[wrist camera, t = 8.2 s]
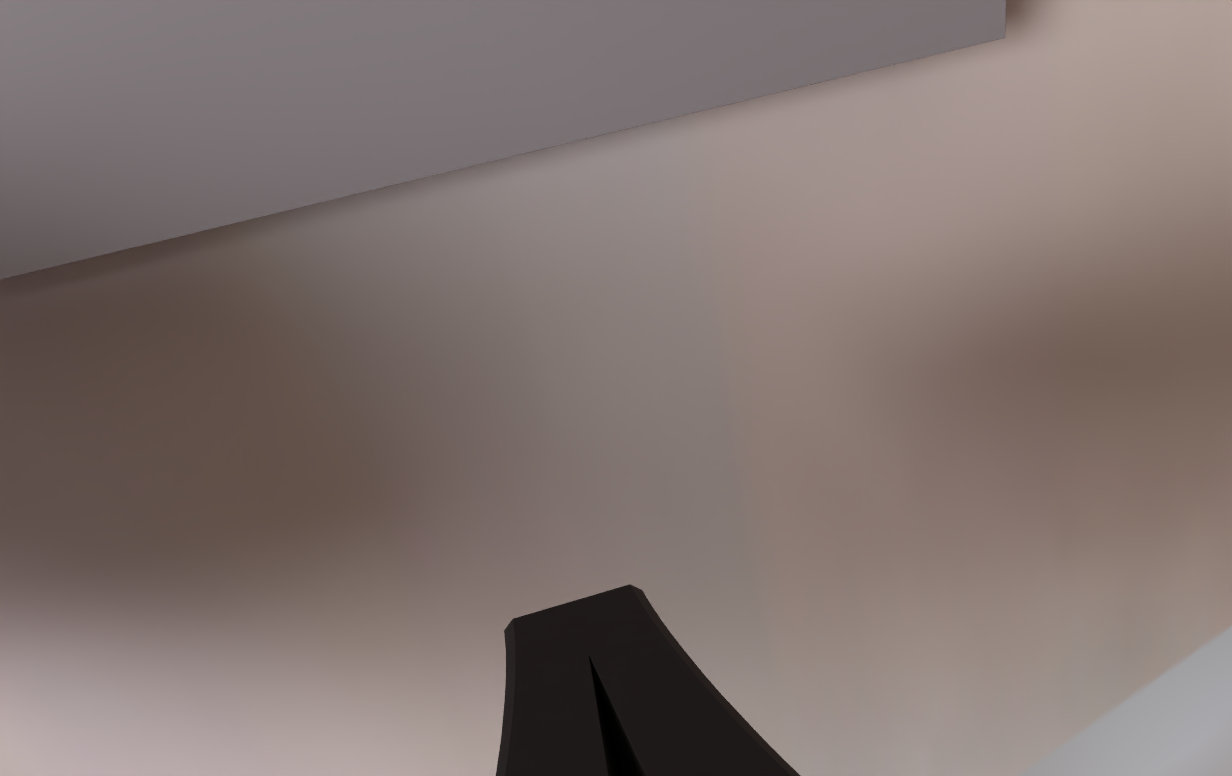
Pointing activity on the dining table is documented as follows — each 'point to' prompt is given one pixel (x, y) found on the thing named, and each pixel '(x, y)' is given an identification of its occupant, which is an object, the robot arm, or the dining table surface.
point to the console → (375, 94)
